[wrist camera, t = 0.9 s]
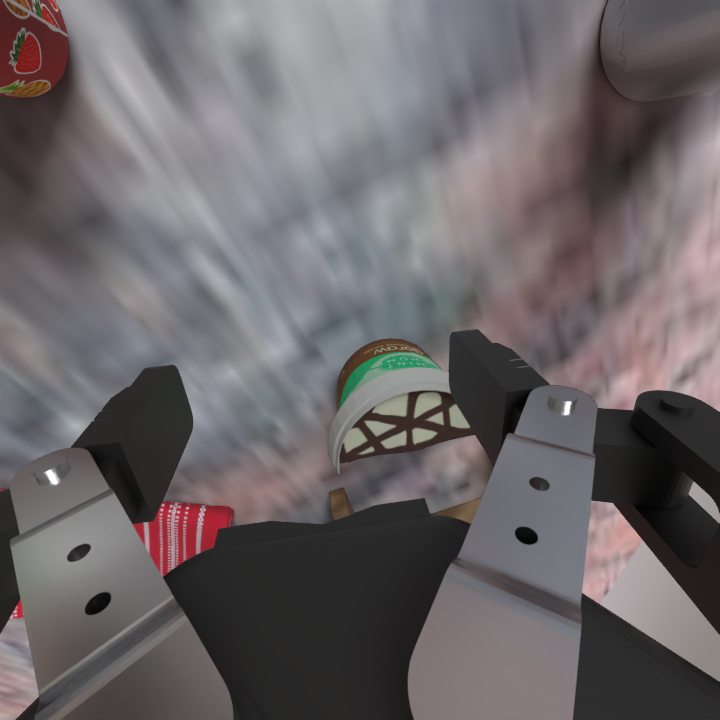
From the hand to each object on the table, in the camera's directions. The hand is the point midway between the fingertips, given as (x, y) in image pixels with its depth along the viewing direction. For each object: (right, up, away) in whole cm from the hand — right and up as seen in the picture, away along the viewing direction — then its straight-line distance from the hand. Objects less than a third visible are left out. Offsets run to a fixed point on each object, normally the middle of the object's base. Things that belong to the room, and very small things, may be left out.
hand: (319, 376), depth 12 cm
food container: (+3, +1, +24) cm, 24 cm away
